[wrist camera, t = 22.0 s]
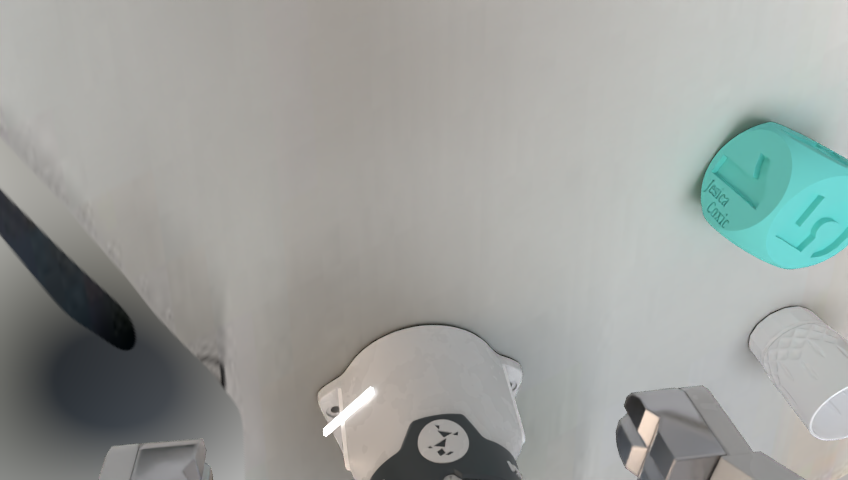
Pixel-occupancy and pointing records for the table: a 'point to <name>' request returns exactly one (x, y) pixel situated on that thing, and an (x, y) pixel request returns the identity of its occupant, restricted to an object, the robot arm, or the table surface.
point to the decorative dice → (778, 196)
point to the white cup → (806, 368)
